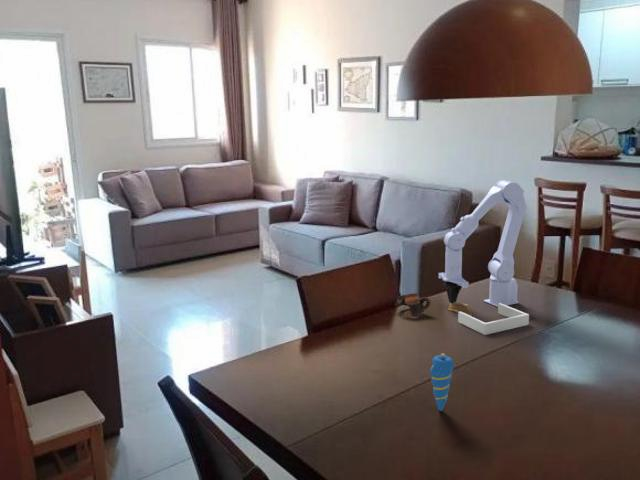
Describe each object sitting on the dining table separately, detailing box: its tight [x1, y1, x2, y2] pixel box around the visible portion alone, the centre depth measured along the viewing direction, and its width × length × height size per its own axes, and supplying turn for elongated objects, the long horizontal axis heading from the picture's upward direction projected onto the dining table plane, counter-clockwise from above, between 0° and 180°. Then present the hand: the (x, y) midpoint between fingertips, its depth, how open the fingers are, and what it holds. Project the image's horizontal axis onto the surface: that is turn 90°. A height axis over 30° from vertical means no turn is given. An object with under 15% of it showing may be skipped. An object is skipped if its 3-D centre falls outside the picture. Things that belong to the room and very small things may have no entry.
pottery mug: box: [395, 292, 432, 319], centre depth 198 cm, size 12×10×8 cm
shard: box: [447, 302, 473, 317], centre depth 198 cm, size 11×8×2 cm
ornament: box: [429, 350, 455, 412], centre depth 131 cm, size 5×5×15 cm
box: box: [457, 303, 530, 336], centre depth 186 cm, size 18×13×4 cm
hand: (452, 302), depth 205 cm, fingers closed
